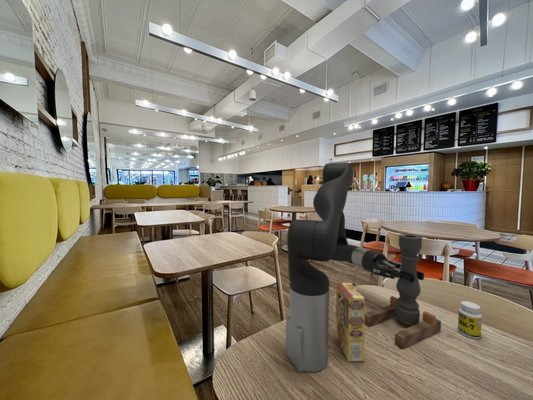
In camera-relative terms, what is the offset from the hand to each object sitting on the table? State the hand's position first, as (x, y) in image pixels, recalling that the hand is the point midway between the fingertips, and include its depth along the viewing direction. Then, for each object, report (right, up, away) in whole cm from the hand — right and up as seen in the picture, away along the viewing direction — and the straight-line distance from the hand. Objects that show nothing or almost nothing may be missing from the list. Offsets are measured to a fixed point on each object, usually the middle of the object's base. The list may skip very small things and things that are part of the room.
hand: (418, 277), depth 63 cm
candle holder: (-1, -14, +3) cm, 14 cm away
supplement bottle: (+13, -15, -1) cm, 20 cm away
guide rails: (-4, -15, +2) cm, 16 cm away
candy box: (-23, -16, -7) cm, 28 cm away
